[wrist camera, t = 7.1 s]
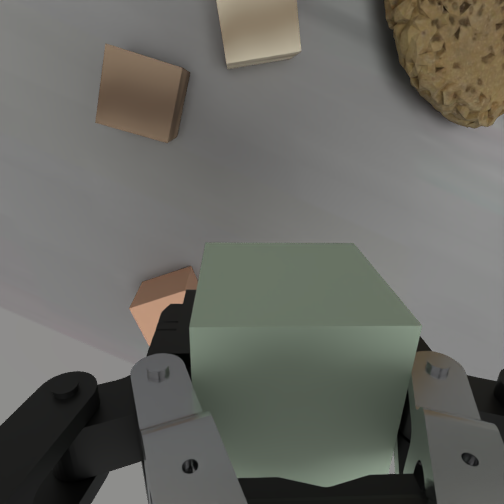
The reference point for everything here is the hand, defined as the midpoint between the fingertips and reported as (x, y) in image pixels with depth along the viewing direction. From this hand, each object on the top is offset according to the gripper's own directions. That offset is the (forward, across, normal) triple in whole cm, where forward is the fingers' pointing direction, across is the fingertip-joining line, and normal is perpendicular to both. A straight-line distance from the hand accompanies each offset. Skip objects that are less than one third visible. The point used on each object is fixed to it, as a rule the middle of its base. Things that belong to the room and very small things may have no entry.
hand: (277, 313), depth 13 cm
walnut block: (+21, +8, -7) cm, 24 cm away
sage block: (0, 0, 0) cm, 0 cm away
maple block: (+21, 0, -12) cm, 25 cm away
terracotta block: (+21, +7, +11) cm, 25 cm away
